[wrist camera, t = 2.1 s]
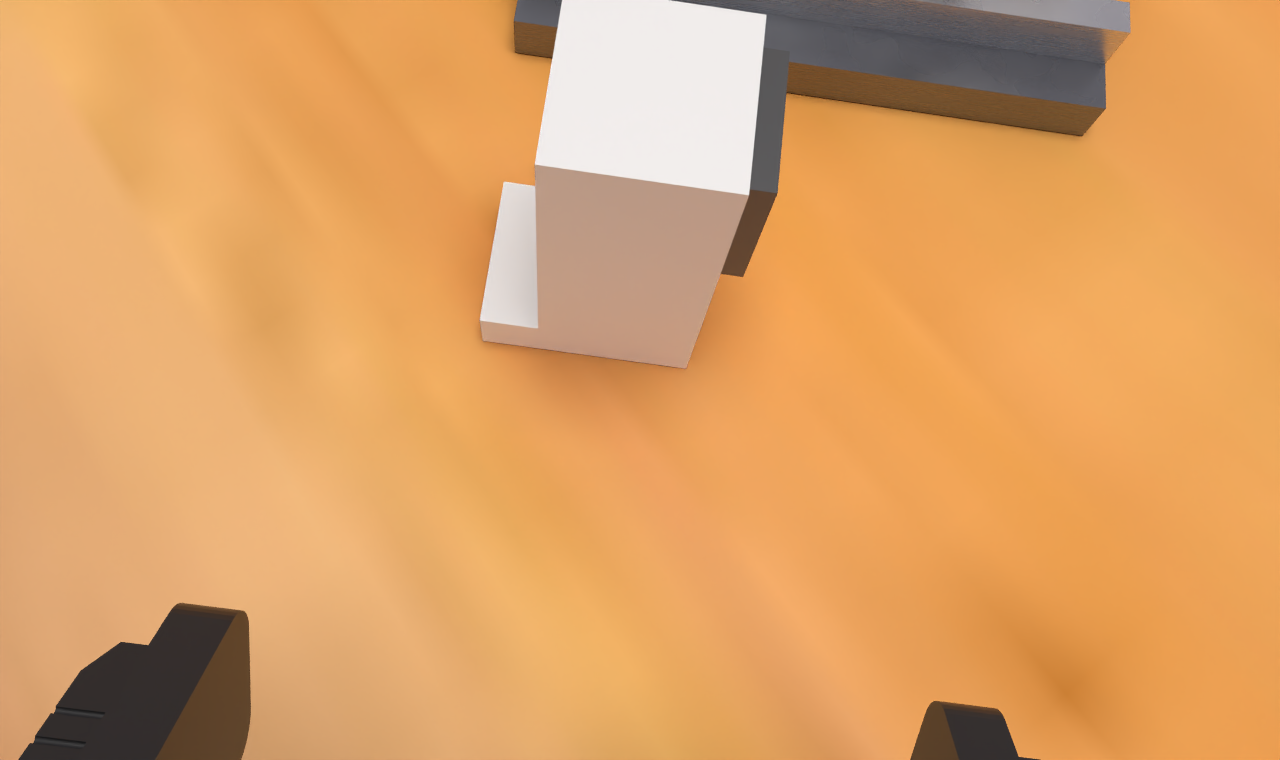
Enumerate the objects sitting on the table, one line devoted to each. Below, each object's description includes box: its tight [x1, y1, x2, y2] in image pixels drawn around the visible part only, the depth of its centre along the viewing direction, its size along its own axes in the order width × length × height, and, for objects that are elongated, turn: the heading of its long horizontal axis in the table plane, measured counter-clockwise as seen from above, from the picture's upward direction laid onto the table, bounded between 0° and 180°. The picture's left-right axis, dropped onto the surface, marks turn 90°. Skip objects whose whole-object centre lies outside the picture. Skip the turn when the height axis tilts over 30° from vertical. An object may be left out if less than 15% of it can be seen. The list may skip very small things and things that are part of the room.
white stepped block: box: [480, 0, 790, 369], centre depth 26 cm, size 6×4×10 cm, turn 83°
